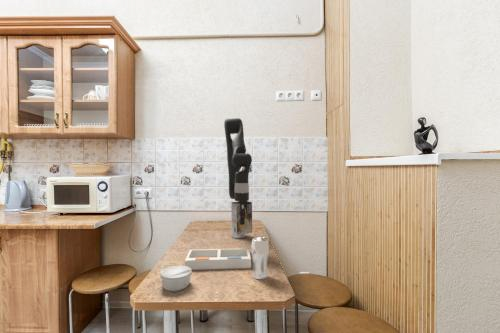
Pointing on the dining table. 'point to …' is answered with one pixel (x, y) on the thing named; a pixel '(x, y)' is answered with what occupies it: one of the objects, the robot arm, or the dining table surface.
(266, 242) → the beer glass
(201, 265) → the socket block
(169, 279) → the ramekin
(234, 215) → the coffee box
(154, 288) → the dining table surface
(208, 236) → the dining table surface
